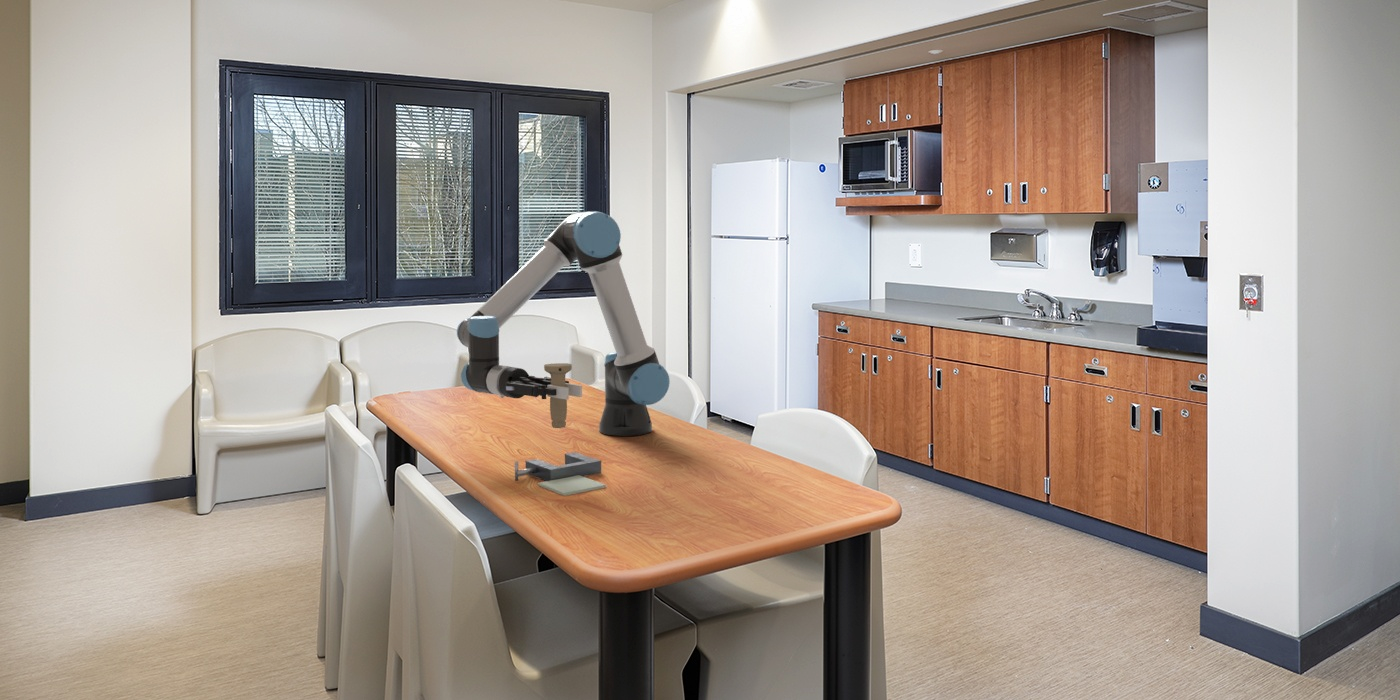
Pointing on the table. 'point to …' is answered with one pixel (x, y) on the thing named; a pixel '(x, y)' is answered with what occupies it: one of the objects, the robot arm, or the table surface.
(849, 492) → the table surface
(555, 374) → the handle
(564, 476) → the vise
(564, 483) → the mat
